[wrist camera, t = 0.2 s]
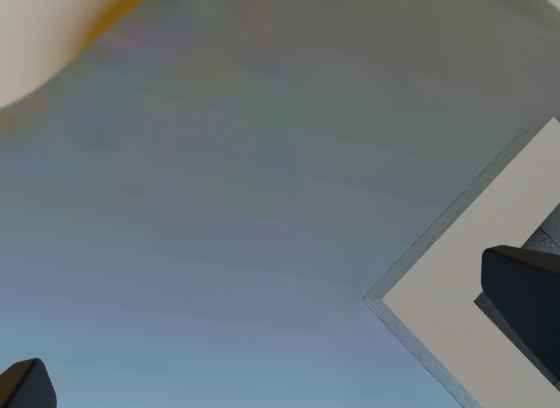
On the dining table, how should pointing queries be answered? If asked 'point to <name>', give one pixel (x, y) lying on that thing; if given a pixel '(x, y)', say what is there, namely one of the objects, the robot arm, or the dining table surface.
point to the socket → (476, 278)
